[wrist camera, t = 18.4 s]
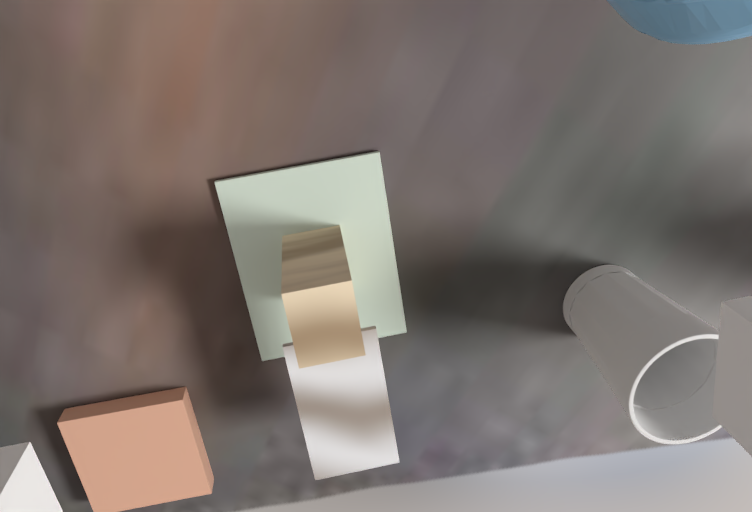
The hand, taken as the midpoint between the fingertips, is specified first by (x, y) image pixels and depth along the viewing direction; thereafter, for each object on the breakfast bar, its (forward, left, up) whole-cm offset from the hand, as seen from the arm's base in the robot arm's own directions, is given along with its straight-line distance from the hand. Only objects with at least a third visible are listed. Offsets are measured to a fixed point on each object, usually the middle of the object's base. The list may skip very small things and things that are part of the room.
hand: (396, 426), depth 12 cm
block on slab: (+16, -2, -31) cm, 35 cm away
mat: (+10, -2, -32) cm, 33 cm away
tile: (+18, -18, -31) cm, 40 cm away
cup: (+18, +19, -32) cm, 41 cm away
